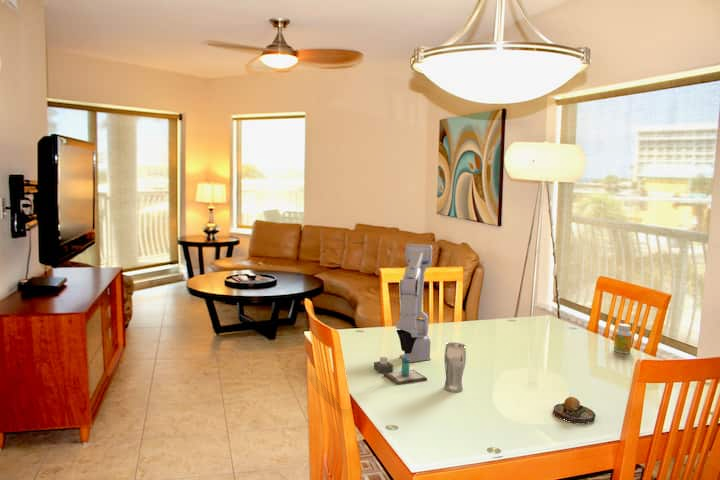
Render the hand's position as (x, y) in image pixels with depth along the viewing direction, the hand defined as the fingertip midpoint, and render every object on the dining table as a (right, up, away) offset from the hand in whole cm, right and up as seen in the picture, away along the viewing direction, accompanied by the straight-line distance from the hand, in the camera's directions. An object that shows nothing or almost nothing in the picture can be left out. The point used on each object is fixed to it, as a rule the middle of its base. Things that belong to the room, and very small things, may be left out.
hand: (406, 351), depth 201 cm
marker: (0, -8, +1) cm, 8 cm away
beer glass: (+15, -11, -7) cm, 20 cm away
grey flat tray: (0, -9, +1) cm, 9 cm away
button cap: (-8, -7, +8) cm, 13 cm away
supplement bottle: (+93, -8, +42) cm, 103 cm away
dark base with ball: (+48, -15, -25) cm, 57 cm away
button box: (-8, -8, +8) cm, 14 cm away
